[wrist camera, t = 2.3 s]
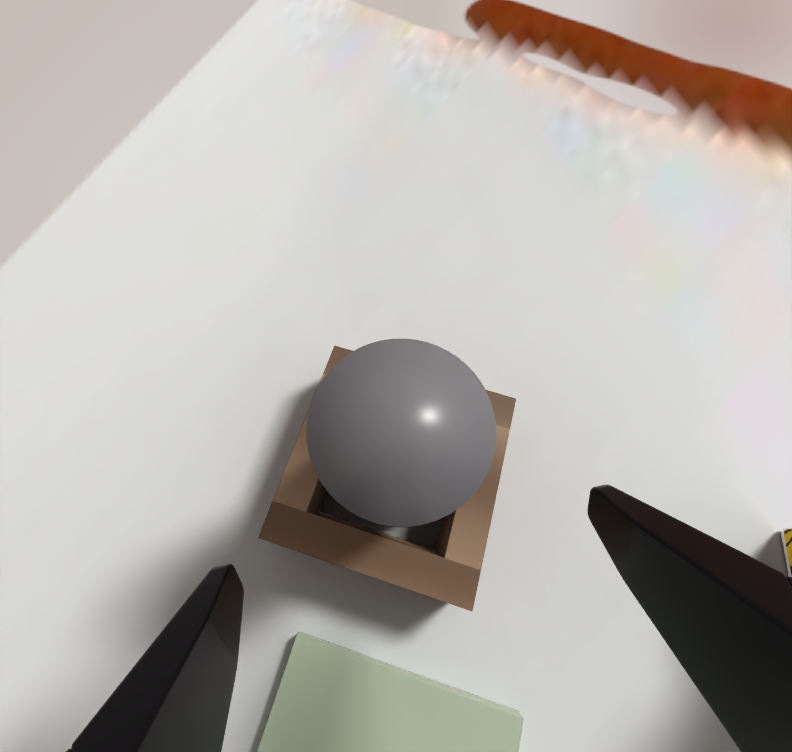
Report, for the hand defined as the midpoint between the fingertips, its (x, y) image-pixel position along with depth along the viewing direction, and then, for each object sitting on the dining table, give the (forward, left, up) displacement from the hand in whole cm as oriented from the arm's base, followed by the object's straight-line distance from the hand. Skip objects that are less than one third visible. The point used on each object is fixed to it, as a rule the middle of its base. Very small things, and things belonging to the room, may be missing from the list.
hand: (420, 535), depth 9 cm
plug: (+2, +1, -10) cm, 10 cm away
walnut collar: (+2, +1, -10) cm, 10 cm away
